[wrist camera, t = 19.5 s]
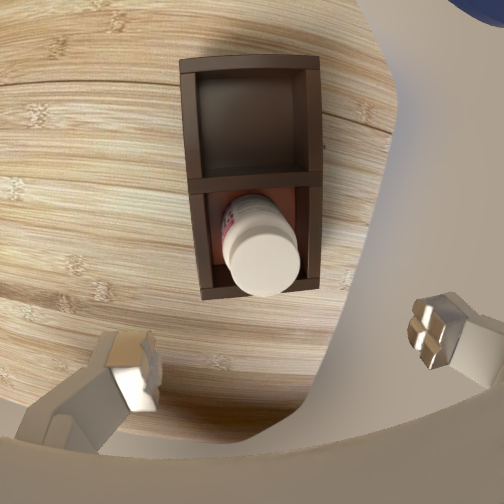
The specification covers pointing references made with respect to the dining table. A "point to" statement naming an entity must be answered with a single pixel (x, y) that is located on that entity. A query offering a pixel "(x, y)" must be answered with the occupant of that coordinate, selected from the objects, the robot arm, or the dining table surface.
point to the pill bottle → (259, 245)
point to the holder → (253, 153)
